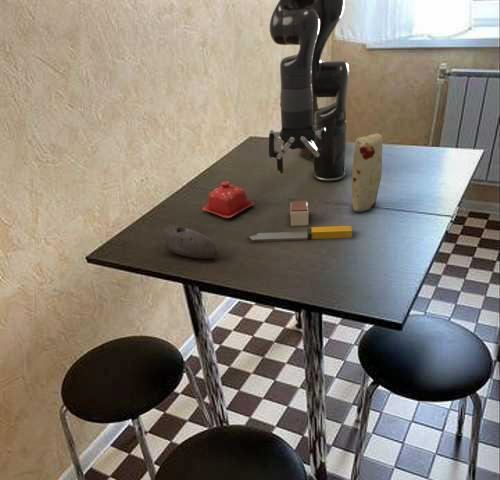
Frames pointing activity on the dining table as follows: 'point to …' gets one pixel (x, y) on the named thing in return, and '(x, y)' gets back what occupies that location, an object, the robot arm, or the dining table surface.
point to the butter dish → (227, 200)
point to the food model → (366, 171)
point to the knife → (306, 234)
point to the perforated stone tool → (188, 243)
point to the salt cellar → (299, 213)
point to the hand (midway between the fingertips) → (298, 171)
